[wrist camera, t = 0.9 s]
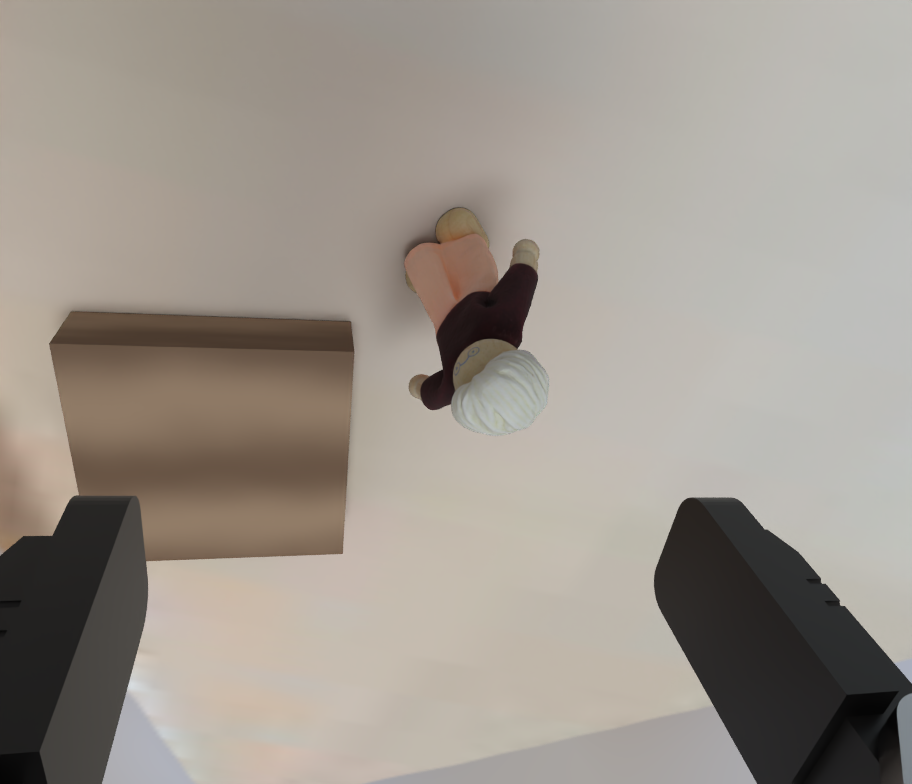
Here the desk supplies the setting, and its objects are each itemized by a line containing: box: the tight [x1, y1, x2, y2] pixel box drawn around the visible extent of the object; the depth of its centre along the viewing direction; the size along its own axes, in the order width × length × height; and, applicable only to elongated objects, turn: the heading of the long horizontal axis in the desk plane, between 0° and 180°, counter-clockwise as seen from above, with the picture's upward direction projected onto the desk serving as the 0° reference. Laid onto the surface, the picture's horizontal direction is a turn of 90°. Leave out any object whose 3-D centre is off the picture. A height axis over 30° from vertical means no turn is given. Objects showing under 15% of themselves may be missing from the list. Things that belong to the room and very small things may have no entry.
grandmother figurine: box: [404, 208, 549, 436], centre depth 26 cm, size 8×4×13 cm, turn 154°
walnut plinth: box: [49, 312, 354, 561], centre depth 33 cm, size 12×12×3 cm
